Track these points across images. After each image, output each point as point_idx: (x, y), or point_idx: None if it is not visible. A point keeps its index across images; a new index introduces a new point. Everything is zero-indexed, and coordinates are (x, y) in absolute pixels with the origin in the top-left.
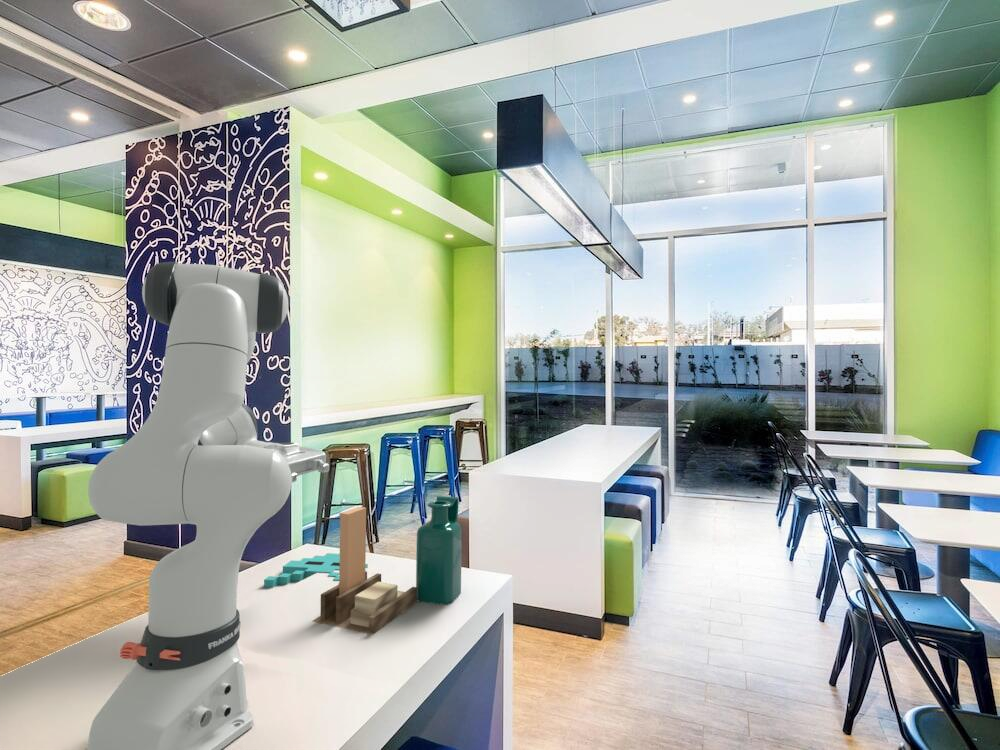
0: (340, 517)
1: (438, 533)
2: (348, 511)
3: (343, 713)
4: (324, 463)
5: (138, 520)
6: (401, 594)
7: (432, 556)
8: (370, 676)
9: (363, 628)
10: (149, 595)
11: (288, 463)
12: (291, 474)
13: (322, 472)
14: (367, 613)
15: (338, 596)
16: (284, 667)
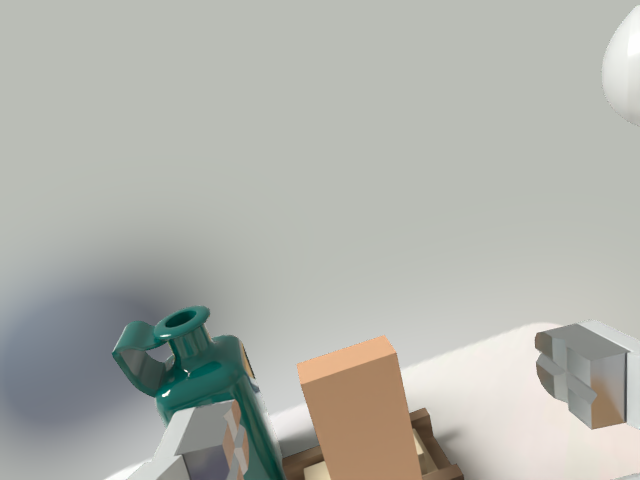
0: (397, 363)
1: (239, 344)
2: (364, 356)
3: (532, 343)
4: (177, 433)
5: None
6: (317, 465)
7: (256, 387)
8: (477, 375)
9: (431, 455)
10: None
11: (622, 478)
12: (583, 322)
13: (248, 463)
14: (418, 438)
15: (456, 474)
16: (608, 466)
